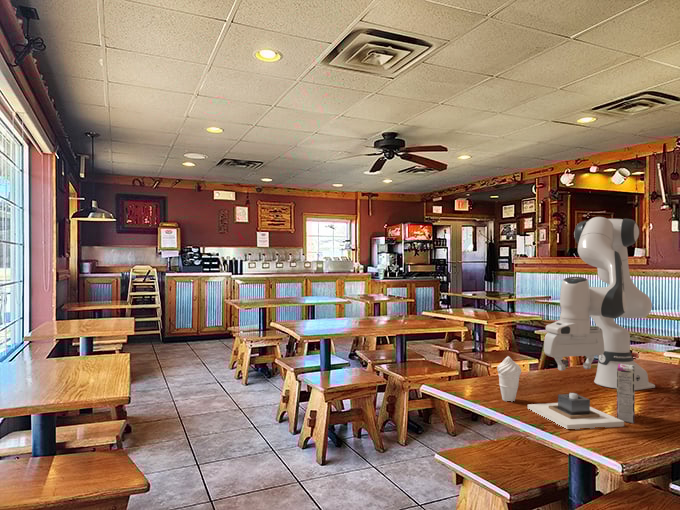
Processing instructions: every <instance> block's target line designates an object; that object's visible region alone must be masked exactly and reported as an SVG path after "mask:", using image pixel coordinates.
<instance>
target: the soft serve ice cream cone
mask: <svg viewBox="0 0 680 510" xmlns="http://www.w3.org/2000/svg"><path fill="white" fill-rule="evenodd" d="M496 370H497V373H498V379H499V380H498V381H499V383H498V386H499V388H500V394H501V399H502V401H504V402H507V401H511V402H510V403H513V401H514V402H515V401H516V397H517V392H518V389H519V382H520V376H521V374H522V368H521V367H520V365H519V364H518V363H516V361H514V360H513V359H512V358H511V357H510V356H509V355H507V356H506V357H505V358H504V359H503V360H502V362H500V363H499V364H498V365H497V368H496Z"/></svg>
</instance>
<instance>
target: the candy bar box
mask: <svg viewBox="0 0 680 510" xmlns="http://www.w3.org/2000/svg"><path fill="white" fill-rule="evenodd" d="M635 391H636V390H635V371H634V365H627V364H618V368H617V388H616V418H617V419H620V420H622V421H624V423H630V424H635V408H636V405H635V402H636V401H635V397H636V396H635V393H636V392H635Z"/></svg>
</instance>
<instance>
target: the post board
mask: <svg viewBox="0 0 680 510" xmlns="http://www.w3.org/2000/svg"><path fill="white" fill-rule="evenodd" d="M568 394H569V398H571V399H578V395H579V394H578V393H576V392H569V393H568ZM527 409H528V410H529V409H530V410H529V411H531V410H532V411H531V412H533V413H534V412H535V414H536V413H537V414H536V415H538V414H539V415H538V416H540V415H541V416H540V417H542V416H543V417H542V418H544V417H545V418H544V419H546V418H547V419H546V420H548V419H549V420H551V421H553V422H555V423H556V424H555V423H554V424H555V425H557V424H558V425H557V426H559V425H560V426H559V427H561V426H562V427H564V428H566V429H575V430H581V429H580V428H590V429H596V428H595V427H605V428H617V427H625V422H624V421H622V420H620V419H617V417H616V416H613V415H611V414H608V413H606V412H604V411H600V410H598V409H596V408H594V407H592V406H590V414H585V415H569V414H567V413H565V412H563V411H561V410H559V409H558V402H547V403H534V404H533V403H531V404H527ZM549 420H548V421H549ZM551 421H550V422H551ZM553 422H552V423H553ZM562 427H561V428H562ZM564 428H563V429H564ZM566 429H565V430H566Z"/></svg>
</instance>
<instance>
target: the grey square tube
mask: <svg viewBox="0 0 680 510" xmlns="http://www.w3.org/2000/svg"><path fill="white" fill-rule="evenodd" d="M557 403H558V409H559V410H561V411H563V412H565V413H567V414H569V415H585V414H590V407H591V401H590V399H589V398H587V397H585V396H582V395H580V394H578V399H571V398H569V393H565V394H564V393H563V394H557Z"/></svg>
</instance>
